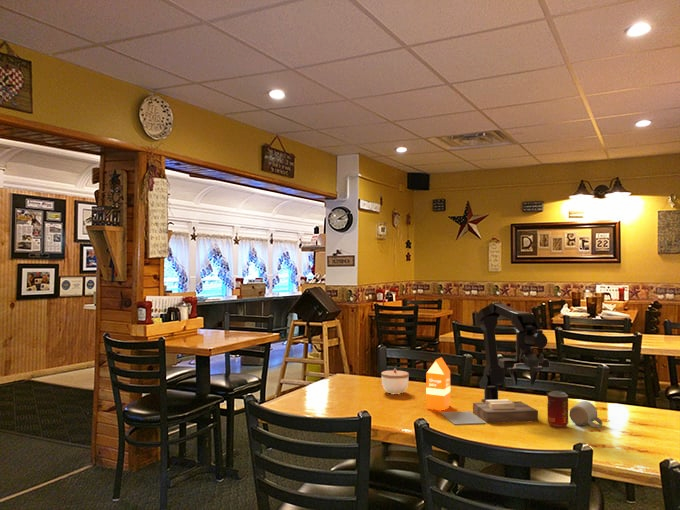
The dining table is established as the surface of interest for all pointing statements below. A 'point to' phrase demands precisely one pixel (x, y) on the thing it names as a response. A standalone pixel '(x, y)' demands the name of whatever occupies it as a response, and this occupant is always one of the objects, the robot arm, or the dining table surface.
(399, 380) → the lidded bowl
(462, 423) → the rubber mat
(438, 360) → the orange juice
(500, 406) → the number block
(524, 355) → the robot arm
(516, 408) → the walnut stand
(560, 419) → the soda can
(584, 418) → the ceramic mug
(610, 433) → the dining table surface
